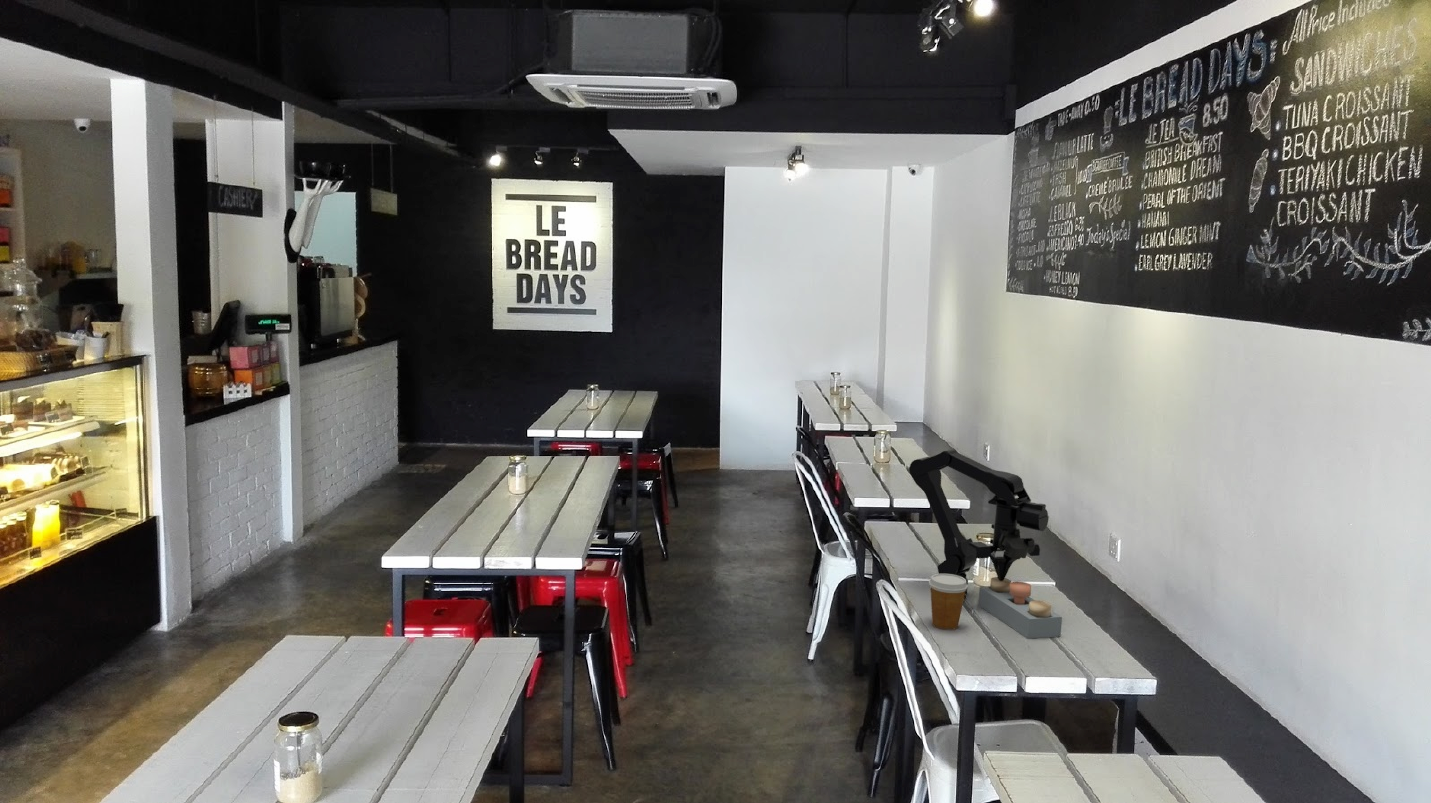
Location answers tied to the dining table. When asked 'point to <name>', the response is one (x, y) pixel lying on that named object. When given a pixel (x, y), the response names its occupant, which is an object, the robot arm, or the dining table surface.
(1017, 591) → the knob middle
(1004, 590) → the knob
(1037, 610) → the knob
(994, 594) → the grey peg holder block
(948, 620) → the disposable coffee cup
